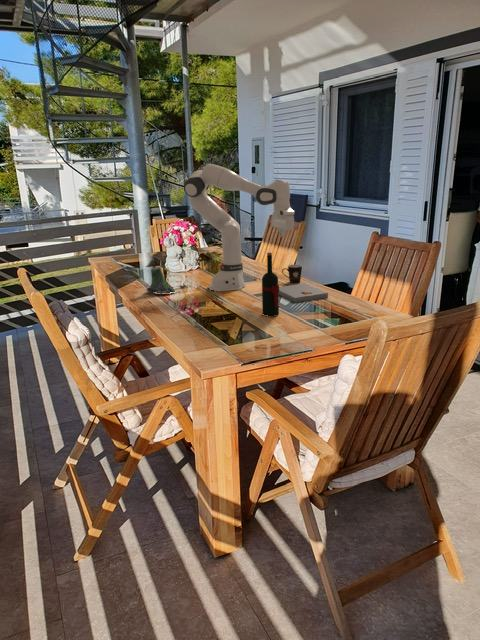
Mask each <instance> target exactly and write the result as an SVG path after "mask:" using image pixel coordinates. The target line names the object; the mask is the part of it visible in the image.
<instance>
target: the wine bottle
mask: <svg viewBox="0 0 480 640" xmlns="http://www.w3.org/2000/svg"><path fill="white" fill-rule="evenodd" d="M266 255H267V256H266V264H267V266H266V267H267V272H266V273H265V274H264V275H263V276H262V278H261V293H262V295H261V297H262V298H261V299H262V302H261V305H262V309H261V310H262V315H263V314H264V315H268V316H273V317H275V316H274V315H277V316H278V315H280V313H279V312H280V311H279V310H280V305H279V303H280V302H279V294H278V292H279V287H280V284H279V277H278V276H277V274H276V273H275V272H273V253H272V252H266ZM264 315H263V316H264Z"/></svg>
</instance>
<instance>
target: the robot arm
mask: <svg viewBox="0 0 480 640" xmlns="http://www.w3.org/2000/svg"><path fill="white" fill-rule="evenodd" d="M210 186H213V187H215V188H218V189H221V190H223V191H229V192H235V191H236V192H238V191H240V192H244V193H247V194H249V195H252V196H254V197H255V200H256V201H257V203H258V204H260V205H262V206H268V205H272V204H273V212H272V214H271V220H270V221H271V227H272V228H277V229H278V233H279V237H281V238H285V237H286V232H287V231H293V230H294V228H295V227H294V226H295V218H294V217H295V216H294V215H295V210H293V209H292V207H291V204H290V200H291V199H290V198H291V187H290V184H289V182H288V181H287V180H282V179H275V180H274V181H273V182H271V183H269V184H268V185H260V184H257V183H255V182H253V181H250V180H248V179H245V178H243V177H242V176H241V175H239V174H238V173H235V172H234V171H232V170H230V169H229V168H227V167H224V166H221V165H217V164H213V163H207V164H206V165H205V166H203V168H202V167H201V168H197V169H196V170H195V171H194V172H192V173H191V174H190V175H189V177H188V178H187V179H186V180H185V182H184V184H183V192H184V193H185V195H187V196H188V197H189V198H188V202H189V204H190V206H192V208H193V209H194V210H195V212H197V214H199V216H200V217H202V218H203V219H204V220H205V221H206V222H207V223H208V224H210V225H211V226H212V227H214V228H215V229H216V230H217V231H218V232H219V233H220V234H221V248H222V264H220V263H219V264H217V268H219V269H220V270H219V271H218V272H217V273H216V274H215V275H214V276H213V277H212V278H211V284H210V285H208V286H207V288H209V289H210V291H211V290H214V291H213V292H216V291H217V292H227V291H239V290H241V289H242V288H245V287H246V283H245V279H244V274H243V272H244V271H243V269H244V266H243V259H242V241H241V240H242V238H241V237H242V235H241V234H242V233H241V226H240V223H239V222H238V221H237V220H235V219H234V218H233V217H232V216H231V215H230V214H229V213H227V212H226V211H225V210H224V209H223V208H222V207H221V206H219V205H218V203H216V201H214V200H213V199H212V198H211V197H210V196H208V193H207V190H208V189H209V188H210ZM209 289H208V290H209Z"/></svg>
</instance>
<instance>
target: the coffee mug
mask: <svg viewBox="0 0 480 640" xmlns="http://www.w3.org/2000/svg"><path fill="white" fill-rule="evenodd" d="M284 270H286V271H287V272H288V275H286V274H285V273H284V272H283V271H284ZM302 270H303V265H301V264H289V265H287V268H286V267H285V268H282V269H281V273H282V275H283V276H284V277H287V278H288V279H289V283H291V284H301V279H302Z"/></svg>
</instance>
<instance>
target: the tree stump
mask: <svg viewBox="0 0 480 640" xmlns="http://www.w3.org/2000/svg"><path fill="white" fill-rule="evenodd" d="M150 271H151V274H150V275H151V284H150V286H149V287H146V289H145V290H146V291H147V292H149V291H150V293H151V292H157V293H170V292H175V290H174V289H173V287H174V286H171V284H170V283H169V282H168V281H167V280H166V279H165V276H164V274H163V272H162V267H161V266H160V265H159V266H155V267H152V268H151V270H150Z"/></svg>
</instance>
